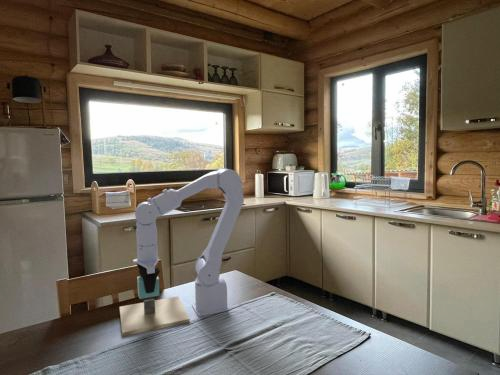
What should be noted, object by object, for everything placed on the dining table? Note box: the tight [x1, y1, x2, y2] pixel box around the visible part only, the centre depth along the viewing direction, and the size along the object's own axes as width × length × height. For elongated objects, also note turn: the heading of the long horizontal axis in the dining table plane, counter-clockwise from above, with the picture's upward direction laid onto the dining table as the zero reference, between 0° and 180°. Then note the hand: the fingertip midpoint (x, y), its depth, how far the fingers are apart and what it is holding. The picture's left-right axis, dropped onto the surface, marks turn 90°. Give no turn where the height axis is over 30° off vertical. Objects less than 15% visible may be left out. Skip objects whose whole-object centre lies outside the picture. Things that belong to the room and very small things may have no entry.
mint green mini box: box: [136, 275, 160, 300], centre depth 97 cm, size 6×4×5 cm
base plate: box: [119, 296, 191, 337], centre depth 98 cm, size 18×16×5 cm
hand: (148, 289), depth 97 cm, fingers closed on mint green mini box, 4 cm apart
